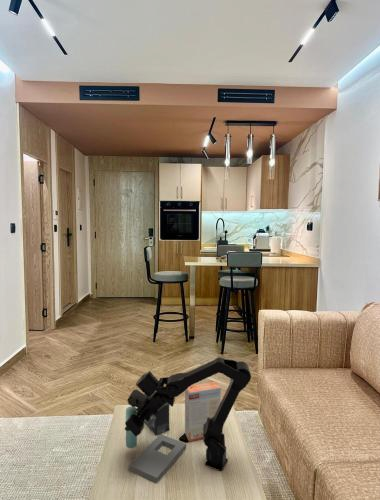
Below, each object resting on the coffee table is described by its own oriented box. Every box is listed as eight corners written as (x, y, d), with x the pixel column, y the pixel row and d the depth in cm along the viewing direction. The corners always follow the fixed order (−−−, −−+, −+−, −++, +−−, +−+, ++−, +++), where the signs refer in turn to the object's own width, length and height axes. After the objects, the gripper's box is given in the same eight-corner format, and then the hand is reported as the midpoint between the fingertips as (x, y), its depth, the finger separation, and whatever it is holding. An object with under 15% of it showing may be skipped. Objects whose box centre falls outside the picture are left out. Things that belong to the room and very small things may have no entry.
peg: (138, 443, 126) (138, 408, 125) (132, 449, 123) (132, 413, 122) (130, 440, 128) (130, 405, 127) (123, 445, 125) (123, 410, 124)
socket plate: (186, 448, 129) (186, 443, 129) (156, 483, 112) (156, 477, 112) (160, 438, 135) (160, 433, 135) (128, 470, 118) (128, 464, 118)
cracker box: (214, 427, 143) (216, 380, 142) (220, 435, 138) (221, 387, 136) (184, 433, 139) (184, 385, 137) (188, 442, 133) (189, 392, 131)
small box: (141, 420, 148) (141, 394, 147) (155, 415, 152) (155, 390, 151) (155, 436, 137) (155, 408, 136) (169, 430, 141) (170, 403, 140)
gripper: (150, 374, 132) (124, 397, 135) (130, 398, 114) (101, 424, 117) (168, 396, 131) (142, 418, 134) (152, 423, 113) (122, 448, 116)
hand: (127, 426), depth 125 cm, fingers closed on peg, 4 cm apart
